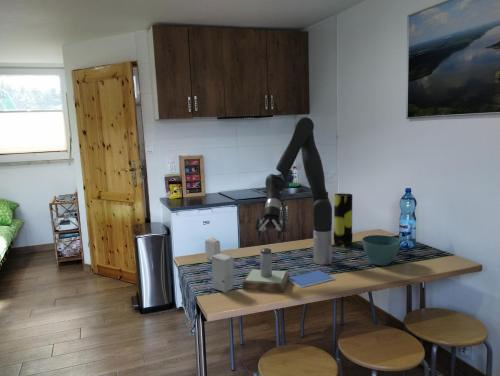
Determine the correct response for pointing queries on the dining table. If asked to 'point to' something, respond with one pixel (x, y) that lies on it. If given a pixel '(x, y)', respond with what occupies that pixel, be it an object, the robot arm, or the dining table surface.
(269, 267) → the ceramic jar
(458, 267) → the dining table surface
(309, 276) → the blue notebook
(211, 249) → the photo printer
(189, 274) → the dining table surface
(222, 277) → the skincare box
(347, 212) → the container
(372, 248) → the plant pot
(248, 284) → the plinth
